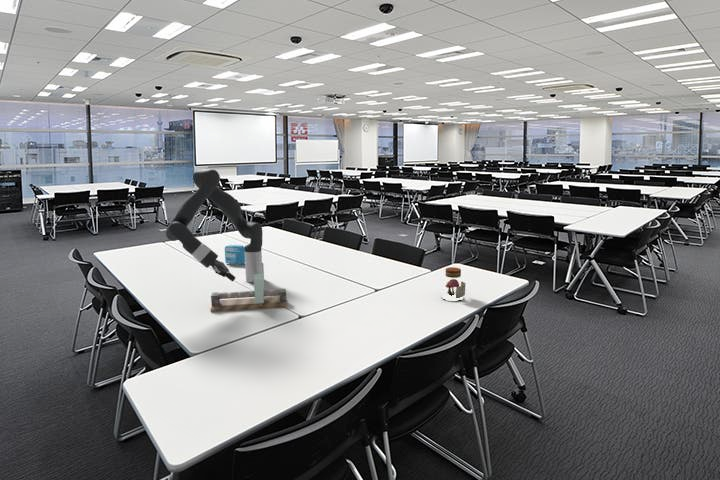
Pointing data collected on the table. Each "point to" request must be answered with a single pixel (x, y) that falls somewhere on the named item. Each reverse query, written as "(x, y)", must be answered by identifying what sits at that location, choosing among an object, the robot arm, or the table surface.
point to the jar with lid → (455, 282)
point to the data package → (234, 254)
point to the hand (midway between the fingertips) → (234, 279)
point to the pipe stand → (247, 300)
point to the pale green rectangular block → (259, 288)
